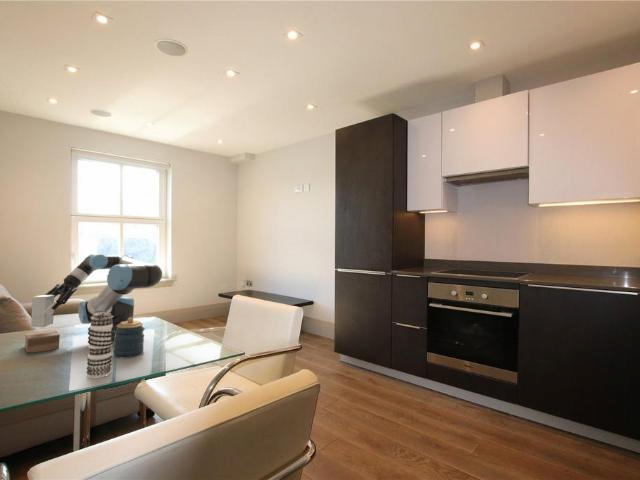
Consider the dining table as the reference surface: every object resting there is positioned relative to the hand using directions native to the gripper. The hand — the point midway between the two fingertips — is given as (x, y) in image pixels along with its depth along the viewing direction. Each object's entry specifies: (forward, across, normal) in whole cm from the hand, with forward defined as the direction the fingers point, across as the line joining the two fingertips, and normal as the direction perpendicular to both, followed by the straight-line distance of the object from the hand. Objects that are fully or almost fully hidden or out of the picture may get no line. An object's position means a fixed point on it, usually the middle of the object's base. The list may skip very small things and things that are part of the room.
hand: (40, 313), depth 167 cm
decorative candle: (+18, -55, -7) cm, 58 cm away
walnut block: (+11, 0, -14) cm, 18 cm away
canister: (+1, -43, -24) cm, 49 cm away
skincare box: (+4, 0, -5) cm, 7 cm away
